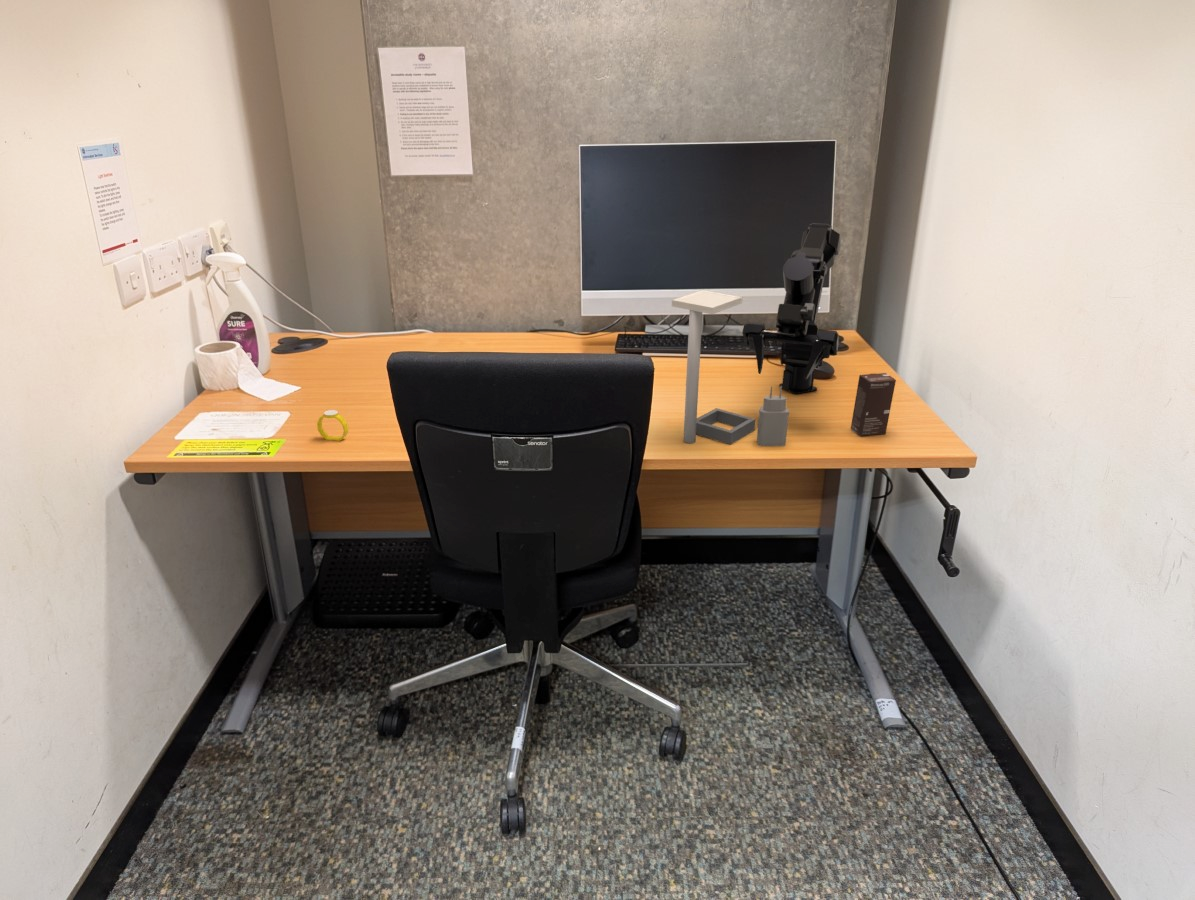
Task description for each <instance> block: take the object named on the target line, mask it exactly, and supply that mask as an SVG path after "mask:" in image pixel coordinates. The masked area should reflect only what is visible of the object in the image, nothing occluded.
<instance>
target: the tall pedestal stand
mask: <svg viewBox="0 0 1195 900" xmlns="http://www.w3.org/2000/svg"><path fill="white" fill-rule="evenodd" d="M741 304H743V296H739V295H732V294H726V293H721V292H716V291H710V290H704V289H702V290H698V291H696V292H693V293H692V292H691V293H690V294H686V295H684V296H679V297H677V298H674V299H671V307H672V308H673V307H674V308H679V309H683V310H688V311H689V315H688V316H689V317H688V334H687V335H688V336H687V337H688V338H687V339H688V340H687V356H686V357H687V358H686V377H685V378H686V380H685V398H684V400H685V404H684V420H683V421H684V423H683V440H682V441H683V442H684V443H685V444H695V443H696V438H697V436H701V437H704V438H708V439H710V440H714V441H717V442H720V443H724V444H727V445H729V446H730V445H732V444H734V443H736V442H737V441H739V440H741V439H743V438H744V437H745V436H747V435H749V434H750V433H752V432H754V431H755V430H756V421H757V419H756V418H752V417H750V416H746V415H742V414H739V413H735V412H732V411H727V410H725V409H720V408H714V409H712V410H710V411H708V412H706V413H704V414H702V415H700V416H698V403H699V402H698V401H699V400H698V399H699V384H700V383H699V381H700V368H701V367H700V363H701V345H702V343H701V342H702V329H703V327H702V326H703V313H704V314H709V315H714V314H717V313H720V312H722V311H725V310H727V309H731V308H733V307H735V306H738V305H741ZM717 422H718V423H721V424H724V425H728V426H730V427H731V426H732V427H733V428H731V429H727V428H723V427H721V426H716V425H714V424H715V423H717Z"/></svg>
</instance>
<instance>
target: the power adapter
mask: <svg viewBox="0 0 1195 900" xmlns="http://www.w3.org/2000/svg"><path fill="white" fill-rule="evenodd" d="M779 387H780V386H779ZM782 389H783V388H782V386H781V387H780V388H779V394H778V395H773V386H772V385H771V386H770V390H769V392H770V393H769V395H766V396H764V397H763V405H762V406H759V408H758V409H759V411H758V423H757V434H756V443H757V445H758V446H759V447H785V446H786V443H787V436H788V434H787V433H788V426H789V414H790V410H789V409H788V407H787V399H788V398H787V397H785V396H783V395H782Z"/></svg>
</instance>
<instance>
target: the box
mask: <svg viewBox="0 0 1195 900" xmlns="http://www.w3.org/2000/svg"><path fill="white" fill-rule="evenodd" d="M896 382H897V380H896V378H894V377H892V376H891V375H889V374H888V373H886V372H883V373H882V372H880V373H869V374H867V373H866V374H860V375H859V377H858V382H857V389H856V393H855V401H854V408H853V412H852V419H851V425H850V429H851V431H852V432H854V433H855V434H857V435H858V436H860V437H865V436H875V435H885V434H887V429H888V428H887V427H888V423H889V418H890V413H891V407H892V401H893V397H894V392H895V388H896V387H895V386H896Z"/></svg>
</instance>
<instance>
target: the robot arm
mask: <svg viewBox="0 0 1195 900" xmlns="http://www.w3.org/2000/svg"><path fill="white" fill-rule="evenodd" d="M832 227H833V226H832V225H831V224H829V223H818V222H817V223H816V222H812V223H809V224H808V226H807V229H806V230H804V231H803V233H802V239H801V244H800V248H799V249H796V250H793V252H792V254H791V256H790V258H787V260H786V261H785V263H784V264H783V266H782V276H783V286H784V290H785V296H784V301H783V303H779V304H778V308H777V315H776V321H775V322H776V323H775V326H776V327H775V328H776V329H777V331H776V330H766V327H765V323H761V322H753V321H752V322H751V321H747V322H746V323H745V324H744V325H743V327H742V337H743V344H744V345H745V346H746V347H749V350H751V351H754V353H755V355H756V363H757V364H756V365H757V373H758V374H761V372H762V370H763V364H764V357H765V356H764V355H765V343H766V341H771V342H781V350H780V352H781V353H780V365H785V366H784V369H783V373H782V374H783V375H782V382H781V383H779V384H778V387H781V386H782V389H784V390H786V391H788V392H789V393H792V394H794V395H799V394H804V393H811V392H815V391H818V387H816V386H814V380H815V372H816V369H818V368H820V367H823V362H824V359H830V356H831V357H832V356H833V357H835V356H837V355H838V349H839V341H840V340H839V338H840V337H839V333H838V332H837V330H833V329H831V330H830V329H823V328H822V329H821V328H819V327H818V326H817V325H816V323H817V318H818V315H819V314H818V313H819V307H820V303H821V302H820V301H821V298H822V293H823V288H824V287H823V286H824V281H825V277H826V275H827V274H828V273H827V272H828V271H829V270H830V269H831V268H832V267H833V266H834V265H835V262H836V256H839V254H840V249H841V234H840V233H839V232H837V231H836V230H834V229H833V228H832Z"/></svg>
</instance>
